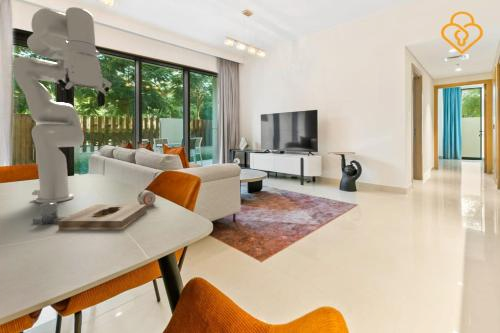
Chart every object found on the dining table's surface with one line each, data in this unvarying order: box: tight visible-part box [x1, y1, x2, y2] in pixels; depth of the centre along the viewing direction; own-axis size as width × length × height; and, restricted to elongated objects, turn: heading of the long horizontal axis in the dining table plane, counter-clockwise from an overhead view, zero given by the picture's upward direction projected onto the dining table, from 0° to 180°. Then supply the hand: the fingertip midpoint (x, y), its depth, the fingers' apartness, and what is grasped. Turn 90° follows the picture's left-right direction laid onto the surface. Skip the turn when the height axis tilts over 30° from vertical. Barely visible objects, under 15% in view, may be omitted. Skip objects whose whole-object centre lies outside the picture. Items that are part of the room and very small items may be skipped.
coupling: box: [32, 202, 67, 226], centre depth 79 cm, size 9×4×6 cm, turn 91°
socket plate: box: [57, 204, 148, 230], centre depth 82 cm, size 18×18×2 cm
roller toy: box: [137, 189, 156, 207], centre depth 99 cm, size 4×6×6 cm
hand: (86, 104), depth 85 cm, fingers open, 9 cm apart
